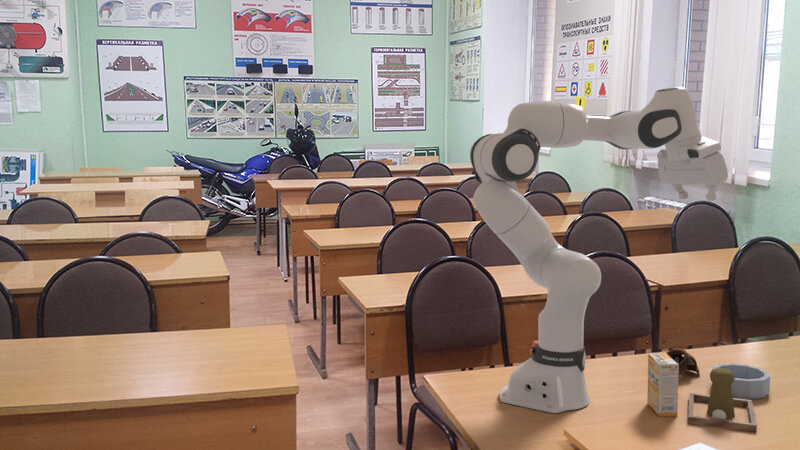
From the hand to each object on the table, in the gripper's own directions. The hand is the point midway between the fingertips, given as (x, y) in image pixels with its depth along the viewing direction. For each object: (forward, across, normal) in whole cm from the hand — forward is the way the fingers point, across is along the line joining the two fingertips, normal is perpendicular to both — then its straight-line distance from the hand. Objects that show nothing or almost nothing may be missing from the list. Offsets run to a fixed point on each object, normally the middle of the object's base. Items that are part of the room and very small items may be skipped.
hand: (697, 199), depth 174 cm
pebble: (+44, +20, -27) cm, 55 cm away
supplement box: (+42, +9, -34) cm, 55 cm away
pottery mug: (+48, -10, -12) cm, 51 cm away
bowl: (+50, +6, -7) cm, 51 cm away
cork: (+45, +16, -24) cm, 54 cm away
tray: (+45, +16, -24) cm, 54 cm away
